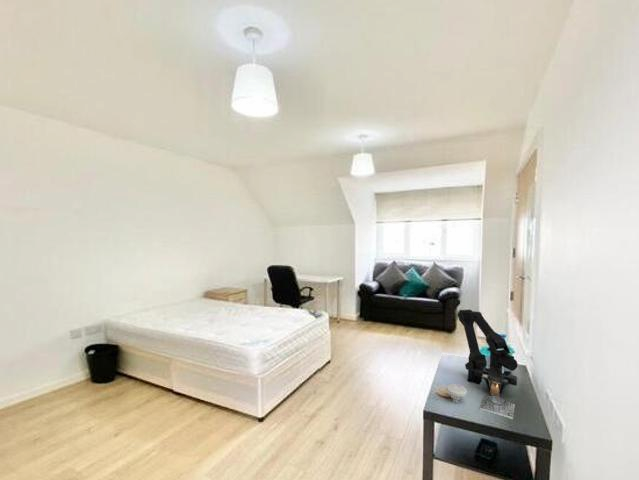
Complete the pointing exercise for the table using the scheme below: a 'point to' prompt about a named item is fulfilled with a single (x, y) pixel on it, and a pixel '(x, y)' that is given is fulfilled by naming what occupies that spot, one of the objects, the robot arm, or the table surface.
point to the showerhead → (456, 391)
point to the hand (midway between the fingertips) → (494, 392)
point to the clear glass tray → (498, 406)
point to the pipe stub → (494, 388)
